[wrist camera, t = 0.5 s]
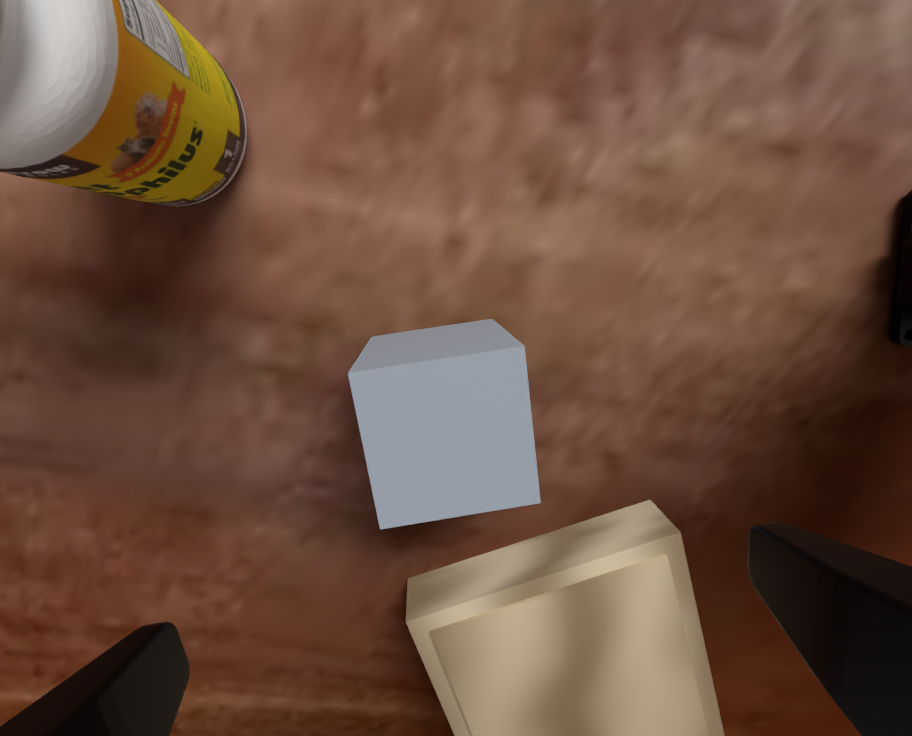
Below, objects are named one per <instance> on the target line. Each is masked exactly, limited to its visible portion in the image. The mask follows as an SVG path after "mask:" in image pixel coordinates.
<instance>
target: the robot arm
mask: <svg viewBox="0 0 912 736" xmlns="http://www.w3.org/2000/svg"><path fill="white" fill-rule="evenodd" d="M905 333H906V335H905ZM890 340H891V341H892V343H894V344H897V345H903V346H912V191H910V192H909V193H908V194H907V196H906V197H905V200H904V204H903V213H902V223H901V232H900V242H899V252H898V261H897V271H896V280H895V290H894V299H893V309H892V318H891V328H890ZM748 573H749V577H750V580H751V582H752V584H753V586H754V588H755V589H756V591H757V592H758V594H759V595H760V596H761V598H762V599H763V601H764V602H765V604H766V605H767V607H768V608H769V610H770V611H771V612H772V614H773V615H774V617H775V618H776V620H777V621H778V623H779V624H780V626H781V627H782V629H783V630H784V631H785V633H786V634H787V636H788V637H789V639H790V640H791V642H792V643H793V645H794V646H795V648H796V649H797V650H798V652H799V653H800V655H801V656H802V658H803V659H804V661H805V662H806V664H807V665H808V666H809V668H810V669H811V671H812V672H813V674H814V675H815V676H816V678H817V679H818V681H819V682H820V683H821V685H822V686H823V687H824V689H825V690H826V691H827V693H828V694H829V695H830V697H831V698H832V699H833V700H834V702H835V703H836V704H837V705H838V707H839V708H840V709H841V711H842V712H843V713H844V714H845V715H846V717H847V718H848V719H849V720H850V722H851V723H852V724H853V725H854V727H855V728H856V729H857V730H858V732H859V733H860V734H861V735H862V736H912V567H911V566H908V565H905V564H902V563H899V562H896V561H893V560H891V559H888V558H885V557H882V556H879V555H876V554H873V553H870V552H867V551H864V550H862V549H859V548H856V547H853V546H850V545H847V544H844V543H841V542H838V541H835V540H833V539H830V538H827V537H824V536H821V535H818V534H815V533H812V532H809V531H807V530H804V529H801V528H798V527H795V526H792V525H789V524H786V523H783V522H778V521H775V522H768V523H762V524H756V525H754V526H752V527H751V528H750V530H749V537H748ZM189 672H190V668H189V662H188V659H187V656H186V653H185V650H184V648H183V645H182V642H181V640H180V637H179V634H178V631H177V629H176V627H175V626H174V625H173V624H172V623H170V622H162V623H156V624H150V625H145V626H142V627H140V628H138V629H136V630H135V631H134V632H132V633H131V634H129V635H128V636H127V637H125V638H124V639H122V640H121V641H120V642H118V643H117V644H115V645H114V646H113V647H111V648H110V649H108V650H107V651H106V652H104V653H103V654H101V655H100V656H98V657H97V658H96V659H94V660H93V661H91V662H90V663H89V664H87V665H86V666H84V667H83V668H82V669H80V670H79V671H77V672H76V673H75V674H73V675H72V676H70V677H69V678H68V679H66V680H65V681H63V682H62V683H61V684H59V685H58V686H56V687H55V688H54V689H52V690H51V691H49V692H48V693H47V694H45V695H44V696H42V697H41V698H40V699H38V700H37V701H35V702H34V703H33V704H31V705H30V706H28V707H27V708H25V709H24V710H23V711H21V712H20V713H18V714H17V715H16V716H14V717H13V718H11V719H10V720H9V721H7V722H6V723H4V724H3V725H2V726H0V736H169V735H170V732H171V729H172V726H173V724H174V721H175V718H176V715H177V712H178V709H179V706H180V703H181V701H182V698H183V695H184V692H185V689H186V686H187V683H188V679H189Z"/></svg>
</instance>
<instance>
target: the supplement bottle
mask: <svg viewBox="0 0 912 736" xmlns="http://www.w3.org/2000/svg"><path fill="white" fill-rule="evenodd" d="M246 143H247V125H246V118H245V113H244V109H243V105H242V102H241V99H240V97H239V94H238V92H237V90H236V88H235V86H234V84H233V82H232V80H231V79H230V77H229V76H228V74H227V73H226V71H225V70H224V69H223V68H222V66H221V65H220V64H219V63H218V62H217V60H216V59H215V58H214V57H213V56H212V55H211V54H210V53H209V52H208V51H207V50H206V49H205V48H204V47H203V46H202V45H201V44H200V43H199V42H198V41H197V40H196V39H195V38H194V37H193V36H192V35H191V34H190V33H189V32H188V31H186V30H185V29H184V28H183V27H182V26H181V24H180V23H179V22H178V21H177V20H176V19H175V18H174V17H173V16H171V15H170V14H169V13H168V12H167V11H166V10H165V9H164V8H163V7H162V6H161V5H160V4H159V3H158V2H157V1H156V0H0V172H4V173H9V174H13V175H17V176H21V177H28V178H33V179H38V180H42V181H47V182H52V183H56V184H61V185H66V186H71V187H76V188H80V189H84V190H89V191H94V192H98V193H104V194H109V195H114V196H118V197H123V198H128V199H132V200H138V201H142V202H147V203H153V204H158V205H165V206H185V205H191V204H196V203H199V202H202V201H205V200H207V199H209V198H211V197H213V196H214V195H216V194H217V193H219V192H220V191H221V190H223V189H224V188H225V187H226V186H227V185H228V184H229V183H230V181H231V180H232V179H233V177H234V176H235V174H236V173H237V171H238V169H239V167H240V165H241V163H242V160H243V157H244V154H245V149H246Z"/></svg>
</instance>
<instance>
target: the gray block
mask: <svg viewBox="0 0 912 736" xmlns="http://www.w3.org/2000/svg"><path fill="white" fill-rule="evenodd" d="M348 376H349V381H350V386H351V391H352V396H353V401H354V405H355V410H356V415H357V420H358V425H359V430H360V435H361V439H362V444H363V449H364V454H365V459H366V464H367V468H368V473H369V478H370V483H371V488H372V493H373V498H374V502H375V507H376V512H377V517H378V522H379V527H380V530H381V529H387V528H393V527H399V526H405V525H411V524H417V523H423V522H429V521H435V520H441V519H447V518H453V517H459V516H465V515H471V514H477V513H483V512H489V511H495V510H501V509H507V508H513V507H519V506H525V505H531V504H537V503H541V502H540V492H539V482H538V473H537V463H536V453H535V443H534V434H533V424H532V414H531V404H530V395H529V385H528V375H527V365H526V356H525V346H524V345H523V344H521V343H520V342H519V341H518V340H517V339H516V338H514V337H513V336H512V335H511V334H510V333H509V332H507V331H506V330H505V329H504V328H503V327H501V326H500V325H499V324H498V323H497V322H496V321H494V320H493V319H487V320H481V321H474V322H467V323H460V324H454V325H447V326H440V327H434V328H427V329H420V330H413V331H407V332H400V333H393V334H387V335H380V336H373V337H371V338H370V340H369V342H368V343H367V345H366V346H365V348H364V349H363V351H362V352H361V354H360V355H359V357H358V358H357V360H356V361H355V363H354V364H353V366H352V367H351V369H350V370H349V372H348Z"/></svg>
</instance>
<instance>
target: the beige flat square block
mask: <svg viewBox="0 0 912 736" xmlns="http://www.w3.org/2000/svg"><path fill="white" fill-rule="evenodd" d="M406 624H407V626H408V628H409V631H410V633H411V635H412V638H413V640H414V642H415V645H416V647H417V649H418V652H419V654H420V656H421V659H422V661H423V663H424V666H425V668H426V670H427V673H428V675H429V677H430V680H431V682H432V684H433V687H434V689H435V691H436V694H437V696H438V698H439V701H440V703H441V705H442V707H443V710H444V712H445V714H446V717H447V719H448V721H449V724H450V726H451V728H452V731H453V733H454V735H455V736H724V731H723V727H722V722H721V718H720V713H719V708H718V704H717V699H716V694H715V690H714V685H713V680H712V676H711V671H710V666H709V662H708V657H707V653H706V648H705V643H704V639H703V634H702V629H701V625H700V620H699V615H698V611H697V606H696V602H695V597H694V592H693V588H692V583H691V578H690V574H689V569H688V564H687V560H686V555H685V550H684V546H683V541H682V537H681V532H680V531H679V530H678V529H677V528H676V527H675V526H674V525H673V524H672V522H671V521H670V520H669V519H668V518H667V517H666V516H665V515H664V514H663V513H662V512H661V511H660V510H659V509H658V508H657V507H656V505H655V504H654V503H653V502H652V501H651V500H647V501H644V502H641V503H638V504H635V505H632V506H629V507H626V508H623V509H620V510H617V511H613V512H610V513H607V514H604V515H601V516H598V517H595V518H592V519H589V520H586V521H583V522H580V523H577V524H574V525H571V526H568V527H564V528H561V529H558V530H555V531H552V532H549V533H546V534H543V535H540V536H537V537H534V538H531V539H528V540H525V541H522V542H518V543H515V544H512V545H509V546H506V547H503V548H500V549H497V550H494V551H491V552H488V553H485V554H482V555H479V556H476V557H473V558H469V559H466V560H463V561H460V562H457V563H454V564H451V565H448V566H445V567H442V568H439V569H436V570H433V571H430V572H427V573H424V574H420V575H417V576H414V577H411V578H408V582H407V604H406Z"/></svg>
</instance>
